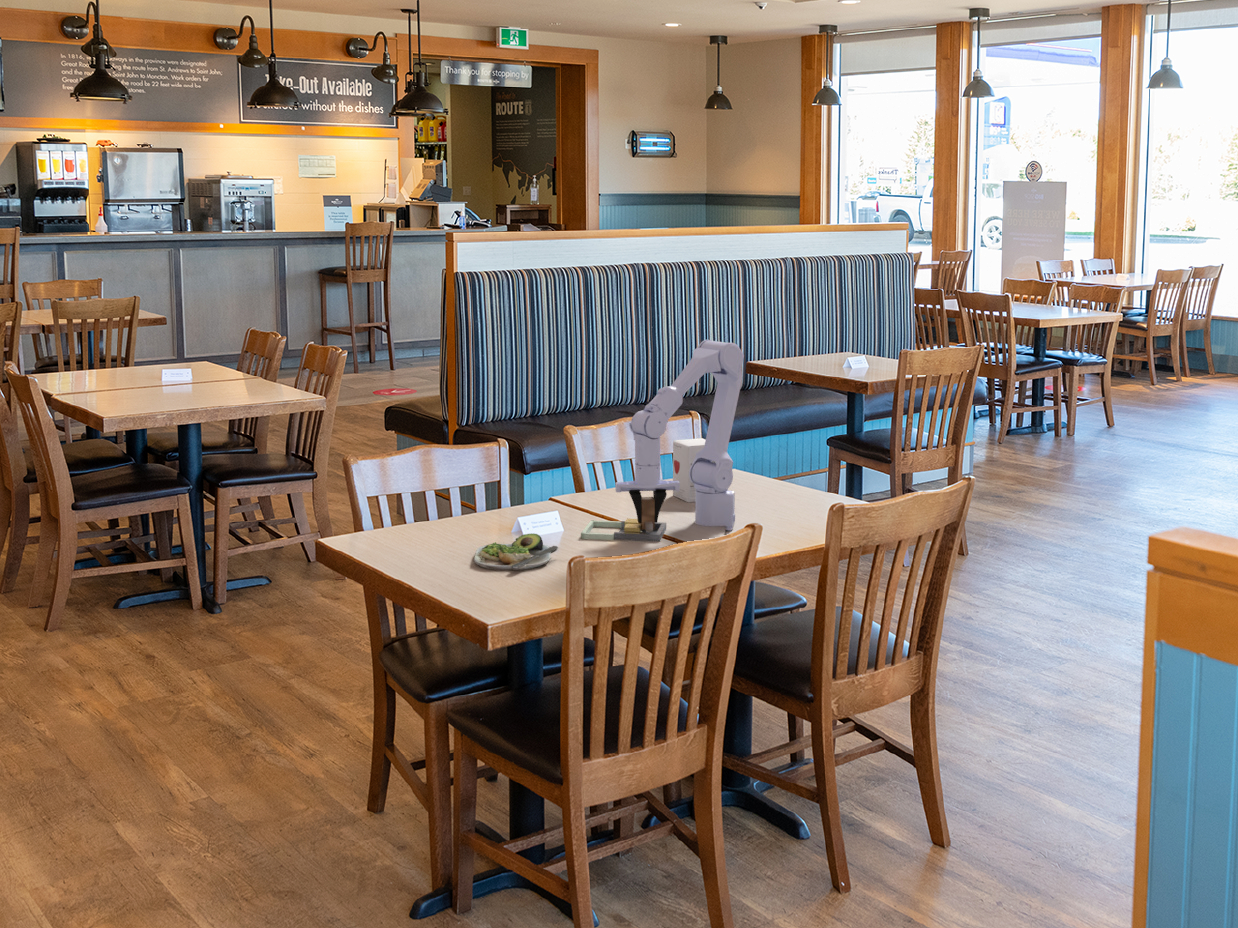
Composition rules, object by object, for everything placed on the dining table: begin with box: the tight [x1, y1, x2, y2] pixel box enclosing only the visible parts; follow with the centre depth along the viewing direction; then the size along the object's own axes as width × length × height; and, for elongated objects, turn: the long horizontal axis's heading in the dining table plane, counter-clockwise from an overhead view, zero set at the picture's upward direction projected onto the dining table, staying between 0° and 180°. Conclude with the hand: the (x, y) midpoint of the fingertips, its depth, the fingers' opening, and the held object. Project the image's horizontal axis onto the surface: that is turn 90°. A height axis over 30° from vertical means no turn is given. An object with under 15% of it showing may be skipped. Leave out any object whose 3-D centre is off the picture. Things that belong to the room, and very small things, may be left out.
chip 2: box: [624, 524, 641, 533], centre depth 280 cm, size 4×4×2 cm
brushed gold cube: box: [624, 518, 642, 530], centre depth 285 cm, size 4×4×2 cm
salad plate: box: [473, 533, 559, 571], centre depth 264 cm, size 19×18×5 cm
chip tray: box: [580, 520, 622, 541], centre depth 284 cm, size 8×12×2 cm, turn 170°
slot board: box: [613, 520, 667, 542], centre depth 282 cm, size 10×11×2 cm
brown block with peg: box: [640, 496, 655, 532], centre depth 281 cm, size 3×8×7 cm, turn 6°
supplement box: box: [672, 437, 715, 503], centre depth 321 cm, size 9×9×15 cm
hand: (647, 521), depth 281 cm, fingers closed on brown block with peg, 3 cm apart
